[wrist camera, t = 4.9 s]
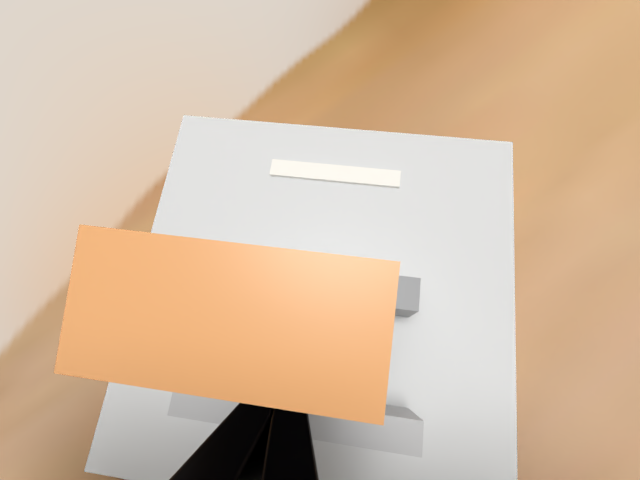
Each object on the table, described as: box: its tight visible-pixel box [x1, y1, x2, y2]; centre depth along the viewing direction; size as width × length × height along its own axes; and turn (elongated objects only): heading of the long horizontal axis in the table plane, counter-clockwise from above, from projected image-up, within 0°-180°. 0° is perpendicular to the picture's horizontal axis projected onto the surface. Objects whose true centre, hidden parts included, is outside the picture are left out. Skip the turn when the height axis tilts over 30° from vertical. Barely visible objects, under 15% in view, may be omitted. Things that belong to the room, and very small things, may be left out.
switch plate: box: [84, 115, 517, 480], centre depth 15 cm, size 16×16×5 cm
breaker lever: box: [54, 225, 400, 426], centre depth 10 cm, size 2×5×12 cm, turn 82°
